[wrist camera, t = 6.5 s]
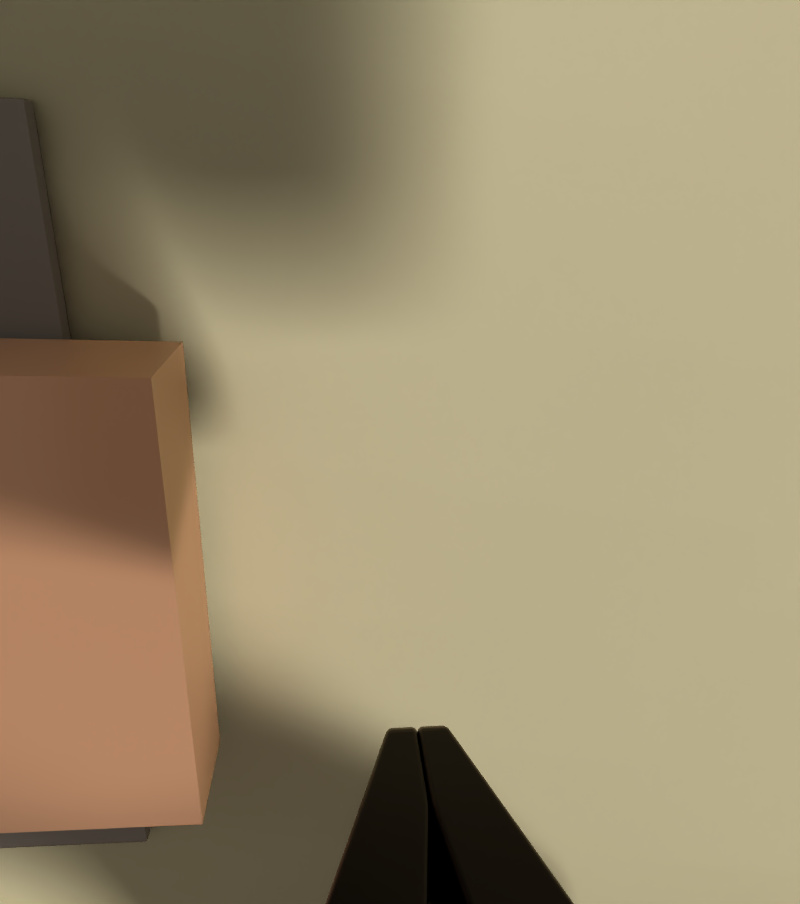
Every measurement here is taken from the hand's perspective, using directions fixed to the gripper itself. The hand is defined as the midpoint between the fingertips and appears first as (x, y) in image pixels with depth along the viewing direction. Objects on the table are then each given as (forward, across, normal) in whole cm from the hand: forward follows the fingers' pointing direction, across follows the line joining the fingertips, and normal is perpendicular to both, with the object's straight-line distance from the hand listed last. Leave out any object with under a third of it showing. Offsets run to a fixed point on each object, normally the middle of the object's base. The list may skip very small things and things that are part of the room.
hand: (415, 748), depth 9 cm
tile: (+3, +4, 0) cm, 5 cm away
